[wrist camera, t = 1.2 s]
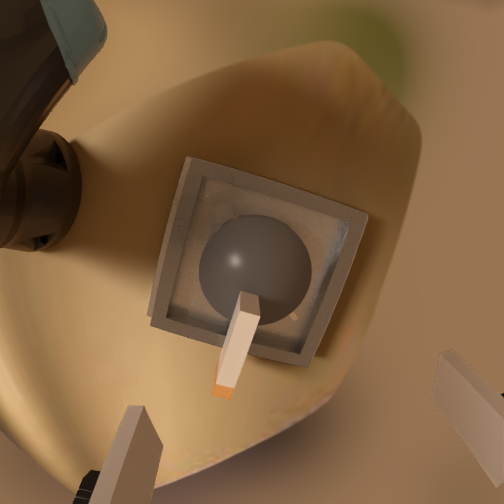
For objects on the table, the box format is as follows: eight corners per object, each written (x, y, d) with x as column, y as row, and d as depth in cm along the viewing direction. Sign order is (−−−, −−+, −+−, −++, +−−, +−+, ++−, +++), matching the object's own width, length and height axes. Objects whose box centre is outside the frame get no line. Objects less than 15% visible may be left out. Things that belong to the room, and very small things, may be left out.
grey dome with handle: (218, 201, 30) (210, 206, 23) (321, 233, 31) (342, 247, 24) (179, 345, 34) (165, 381, 27) (270, 369, 35) (275, 408, 27)
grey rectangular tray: (149, 311, 34) (141, 322, 31) (188, 156, 30) (182, 154, 27) (310, 356, 35) (315, 369, 33) (365, 214, 32) (376, 217, 29)
